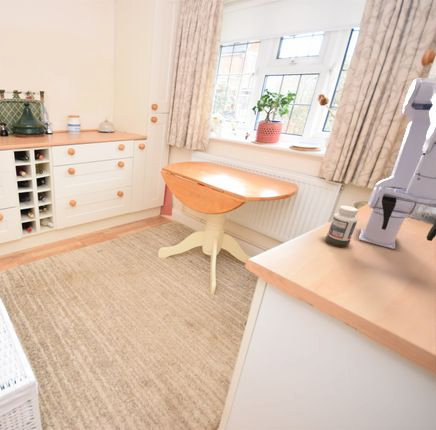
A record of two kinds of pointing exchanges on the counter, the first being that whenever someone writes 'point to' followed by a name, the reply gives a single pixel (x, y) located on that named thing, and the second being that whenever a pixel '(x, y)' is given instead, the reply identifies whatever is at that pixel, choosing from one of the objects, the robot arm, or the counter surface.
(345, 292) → the counter surface
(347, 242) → the coaster stack
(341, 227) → the pill bottle
